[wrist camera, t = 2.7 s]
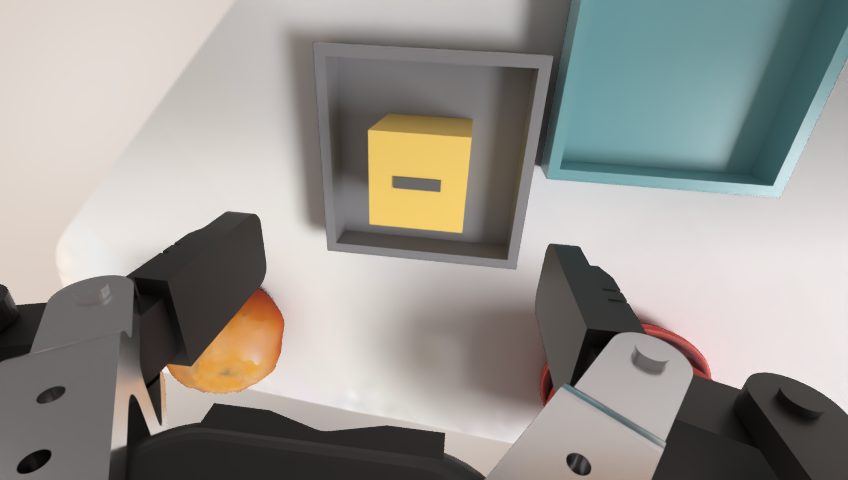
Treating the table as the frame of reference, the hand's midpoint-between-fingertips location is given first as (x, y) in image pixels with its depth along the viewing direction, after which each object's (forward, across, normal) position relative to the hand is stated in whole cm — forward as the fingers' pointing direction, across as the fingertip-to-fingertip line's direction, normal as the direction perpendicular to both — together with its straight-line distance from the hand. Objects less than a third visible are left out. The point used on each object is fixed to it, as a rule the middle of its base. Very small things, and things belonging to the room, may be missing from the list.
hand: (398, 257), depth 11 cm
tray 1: (+15, 0, +1) cm, 15 cm away
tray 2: (+15, -12, -5) cm, 20 cm away
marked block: (+14, 0, +1) cm, 15 cm away
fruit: (+15, +14, +15) cm, 26 cm away
